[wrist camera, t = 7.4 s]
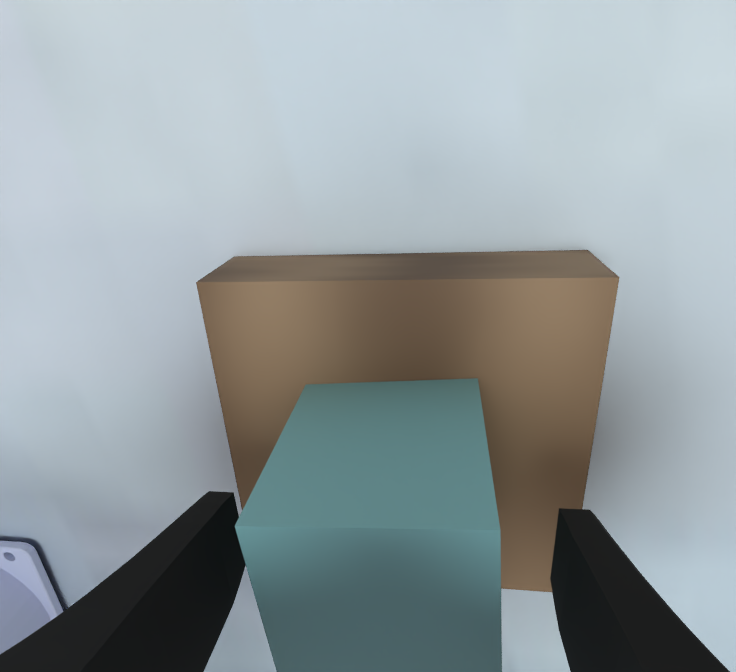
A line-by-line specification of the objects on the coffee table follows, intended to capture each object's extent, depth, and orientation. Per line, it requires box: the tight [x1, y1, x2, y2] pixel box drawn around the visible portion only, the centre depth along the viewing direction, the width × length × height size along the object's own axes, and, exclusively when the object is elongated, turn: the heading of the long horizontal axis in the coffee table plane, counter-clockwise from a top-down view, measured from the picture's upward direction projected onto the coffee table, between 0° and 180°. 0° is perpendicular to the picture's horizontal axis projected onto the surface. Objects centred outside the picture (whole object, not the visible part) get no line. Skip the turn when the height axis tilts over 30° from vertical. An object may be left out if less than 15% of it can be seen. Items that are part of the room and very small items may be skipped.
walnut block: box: [196, 250, 619, 592], centre depth 15 cm, size 10×10×3 cm
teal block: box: [235, 378, 502, 672], centre depth 11 cm, size 4×4×5 cm
